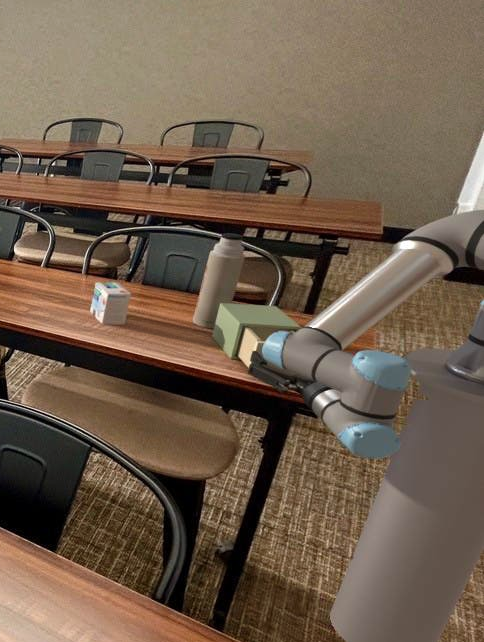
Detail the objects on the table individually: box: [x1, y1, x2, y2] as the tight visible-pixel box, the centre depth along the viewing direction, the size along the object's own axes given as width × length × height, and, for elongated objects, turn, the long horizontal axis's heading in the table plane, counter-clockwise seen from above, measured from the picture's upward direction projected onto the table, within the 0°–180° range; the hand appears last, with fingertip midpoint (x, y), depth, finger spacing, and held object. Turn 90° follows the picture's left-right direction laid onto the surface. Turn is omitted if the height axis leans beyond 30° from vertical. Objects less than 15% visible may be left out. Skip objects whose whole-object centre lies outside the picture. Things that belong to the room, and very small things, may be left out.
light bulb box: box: [89, 281, 132, 326], centre depth 181 cm, size 11×7×11 cm, turn 169°
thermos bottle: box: [192, 232, 246, 330], centre depth 169 cm, size 8×8×28 cm
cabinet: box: [211, 303, 302, 361], centre depth 156 cm, size 15×13×11 cm
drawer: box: [236, 326, 296, 375], centre depth 145 cm, size 18×11×9 cm, turn 159°
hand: (288, 358), depth 139 cm, fingers open, 13 cm apart
